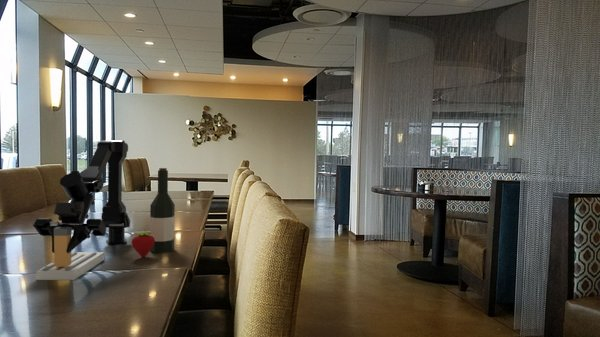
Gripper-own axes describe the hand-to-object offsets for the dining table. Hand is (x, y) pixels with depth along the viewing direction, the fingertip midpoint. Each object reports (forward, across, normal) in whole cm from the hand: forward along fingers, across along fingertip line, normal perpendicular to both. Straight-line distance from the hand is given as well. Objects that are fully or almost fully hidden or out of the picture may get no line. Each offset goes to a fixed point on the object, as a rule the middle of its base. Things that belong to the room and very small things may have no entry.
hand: (60, 252), depth 112 cm
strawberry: (-10, +16, +20) cm, 28 cm away
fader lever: (+2, 0, +4) cm, 4 cm away
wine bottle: (-16, +20, +26) cm, 37 cm away
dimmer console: (0, 0, +10) cm, 10 cm away
